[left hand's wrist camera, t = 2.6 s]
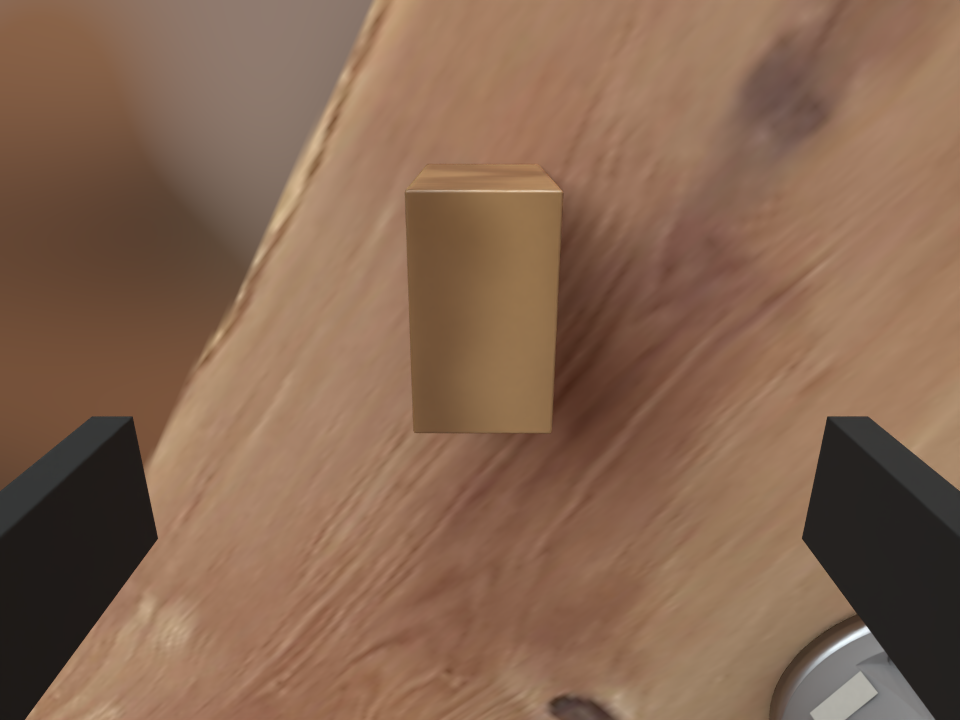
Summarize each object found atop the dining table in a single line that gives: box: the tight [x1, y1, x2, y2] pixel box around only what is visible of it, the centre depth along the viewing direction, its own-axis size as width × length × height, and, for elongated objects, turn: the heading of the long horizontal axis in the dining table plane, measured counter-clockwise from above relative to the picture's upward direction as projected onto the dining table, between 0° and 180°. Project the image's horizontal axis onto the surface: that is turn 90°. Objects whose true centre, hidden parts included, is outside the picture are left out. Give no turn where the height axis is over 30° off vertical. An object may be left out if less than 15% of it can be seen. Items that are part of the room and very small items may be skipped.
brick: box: [405, 164, 563, 433], centre depth 26 cm, size 5×8×9 cm, turn 0°
